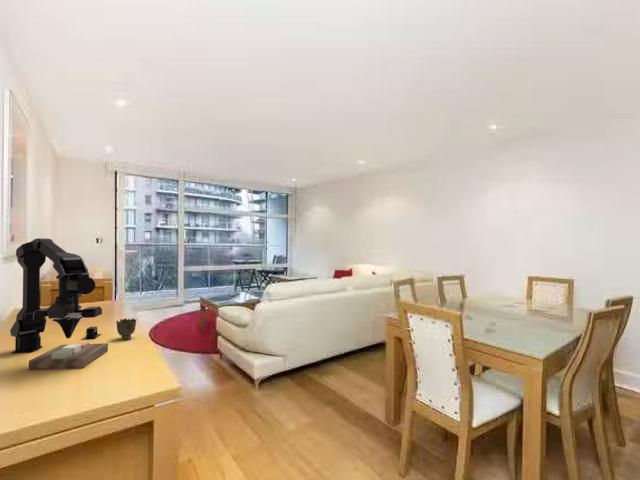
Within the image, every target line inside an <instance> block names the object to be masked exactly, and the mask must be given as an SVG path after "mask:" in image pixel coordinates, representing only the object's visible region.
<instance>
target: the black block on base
mask: <svg viewBox="0 0 640 480" xmlns="http://www.w3.org/2000/svg"><path fill="white" fill-rule="evenodd" d="M101 335H102V333H98V326H89V327H87V328H86V331H85V336H84V337H83V338H81V339H80V341H86V340H87V341H89V340H96V339H97V338H99V337H100V336H101Z"/></svg>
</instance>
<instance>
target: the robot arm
mask: <svg viewBox="0 0 640 480" xmlns="http://www.w3.org/2000/svg"><path fill="white" fill-rule="evenodd" d="M15 257H16V258H17V259H16V260H17V263H18V264H19V265H20V266H21V268H22V307H21V308H20V310H19V312H18V313H17V314H16V316H15V322H14V323H13V325H12V326H11V328H10V329H9V330H10V331H9V332H10V336H11V337H14V338H15V343H14V344H15V345H14V346H15V348H14V349H15V350H12V351H11V354H19V353H32V352H35V351H36V350H39V349H41V348H43V345H42V343H41V342H42V341H41V340H42V339H41V338H42V336H40V333H44V332H45V329H46V325H47V317H48V319H50V320H51V319H52V322H56V323H57V324H58V325H59V326H60V328H61V330H62V331H63V333H64V336H65V338H66V339H70V338H71V337H72V336H73V334H74V332H75V330H76V327H77V325H78V324H79V322H80V321H81V319H84V318H85V319H87V318H97V317H99V316H102V314H103V308H102V307H101V306H89V307H85V308H83V309H81V308H82V305H80V298H81V297H82V295H89V294H90V293H92V292H94V289H95V288H96V282H95V280H94V279H93V277H90V273H89V269H88V267H87V265H86V264H85V261H84V260H83V258H82V256H81V255H78V254H76V253H70V252H67V251H66V250H64V249H63V248H61V247H60V246H59V245H57V244H56V243H55V242H54V240H53V239H50V238H46V237H45V238H44V237H43V238H41V237H40V238H39V237H38V238H34V239H32V240H31V241H28V242H25V243H23V244H21V245H20V246H18V247H17V249H16V251H15ZM47 258H48V259H49V260H51V262H52V263H53V264H52V267H53V269H54V270H55V271H56V273H57V276H56V277H55V278H56V280H58V289H57V290H58V296H55V300H54V301H55V302H54V303H52V304H51V305H50V306H49V307H43V308H41V307H40V293H41V292H40V291H41V290H40V284H41V282H40V281H41V268H42V267H43V265H44V264H45V263H46V259H47Z"/></svg>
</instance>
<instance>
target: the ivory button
mask: <svg viewBox="0 0 640 480" xmlns="http://www.w3.org/2000/svg"><path fill="white" fill-rule="evenodd" d="M66 345H67V346H65V347H63V348H62V350H63V349H72V353H76V352H78V351H80V350H81V344H76V343H74V345H69V344H66Z"/></svg>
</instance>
